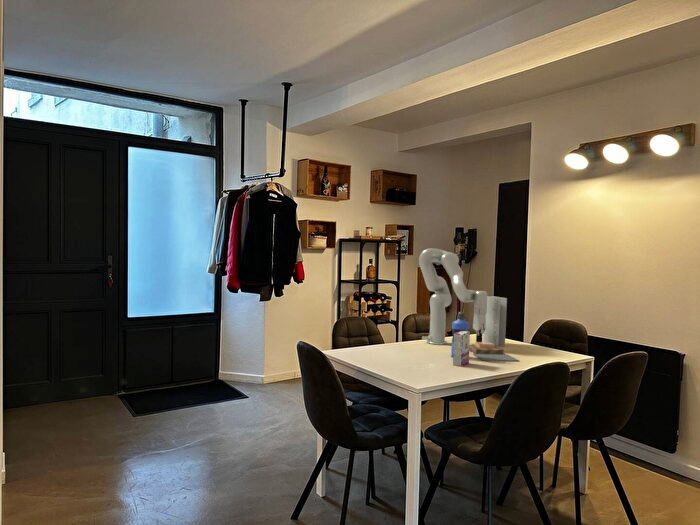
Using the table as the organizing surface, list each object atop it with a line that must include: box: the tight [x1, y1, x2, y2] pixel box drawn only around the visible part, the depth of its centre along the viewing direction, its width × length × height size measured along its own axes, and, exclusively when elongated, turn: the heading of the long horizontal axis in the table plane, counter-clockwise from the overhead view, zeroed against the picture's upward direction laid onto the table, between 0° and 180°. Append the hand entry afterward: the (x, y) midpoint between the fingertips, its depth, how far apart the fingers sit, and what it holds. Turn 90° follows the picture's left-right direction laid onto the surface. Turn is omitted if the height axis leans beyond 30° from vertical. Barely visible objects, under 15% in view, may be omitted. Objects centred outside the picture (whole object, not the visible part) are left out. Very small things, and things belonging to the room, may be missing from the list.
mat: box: [472, 353, 520, 362], centre depth 290 cm, size 20×16×1 cm
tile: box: [474, 341, 495, 348], centre depth 307 cm, size 9×7×2 cm
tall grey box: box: [482, 295, 508, 347], centre depth 336 cm, size 14×6×30 cm, turn 25°
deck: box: [469, 344, 505, 354], centre depth 305 cm, size 16×13×3 cm
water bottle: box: [450, 311, 471, 359], centre depth 289 cm, size 9×9×25 cm
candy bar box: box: [452, 331, 471, 368], centre depth 271 cm, size 11×5×16 cm, turn 148°
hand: (479, 341), depth 317 cm, fingers closed
